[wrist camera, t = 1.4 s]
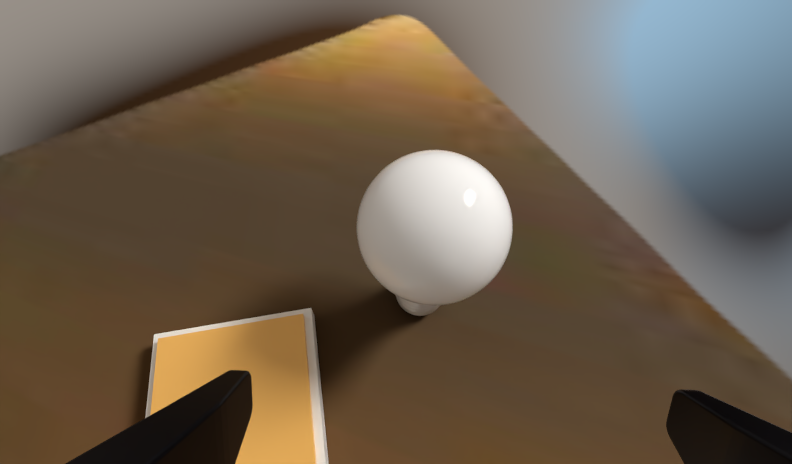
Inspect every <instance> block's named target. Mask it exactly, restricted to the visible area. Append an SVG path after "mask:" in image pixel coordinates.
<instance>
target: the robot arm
mask: <svg viewBox="0 0 792 464" xmlns="http://www.w3.org/2000/svg"><path fill="white" fill-rule="evenodd" d="M252 407H253V401H252V380H251V374H250V372H249V371H244V370H229V371H227V372H225V373H224V374H222V375H220V376H218V377H217V378H215V379H213V380H211V381H210V382H208V383H206V384H204V385H203V386H201V387H199V388H197V389H196V390H194V391H192V392H190V393H189V394H187V395H185V396H183V397H182V398H180V399H178V400H176V401H175V402H173V403H171V404H169V405H168V406H166V407H164V408H162V409H161V410H159V411H157V412H155V413H154V414H152V415H150V416H148V417H147V418H145V419H143V420H141V421H140V422H138V423H136V424H134V425H133V426H131V427H129V428H127V429H126V430H124V431H122V432H120V433H119V434H117V435H115V436H113V437H111V438H110V439H108V440H106V441H104V442H103V443H101V444H99V445H97V446H96V447H94V448H92V449H90V450H89V451H87V452H85V453H83V454H82V455H80V456H78V457H76V458H75V459H73V460H71V461H69V462H68V463H66V464H235V463H236V460H237V457H238V454H239V451H240V448H241V445H242V442H243V439H244V436H245V433H246V430H247V427H248V424H249V421H250V418H251V414H252ZM666 427H667V431H668V434H669V437H670V438H671V440H672V442H673V444H674V446H675V448H676V449H677V451H678V453H679V455H680V457H681V459H682V460H683V462H684V464H792V433H791V432H789V431H787V430H784V429H782V428H780V427H778V426H776V425H773V424H771V423H769V422H767V421H765V420H762V419H760V418H758V417H756V416H754V415H751V414H749V413H747V412H745V411H743V410H740V409H738V408H736V407H734V406H732V405H729V404H727V403H725V402H723V401H721V400H718V399H716V398H714V397H712V396H710V395H707V394H705V393H703V392H701V391H697V390H677V391H676V392H675V393H674V395H673V398H672V402H671V406H670V410H669V414H668V418H667V422H666Z"/></svg>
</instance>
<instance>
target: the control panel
mask: <svg viewBox="0 0 792 464" xmlns="http://www.w3.org/2000/svg"><path fill="white" fill-rule="evenodd" d="M229 370H244V371H249V372H250V374H251V380H252V401H253V407H252V414H251V418H250V421H249V424H248V427H247V430H246V433H245V436H244V439H243V442H242V445H241V448H240V451H239V454H238V457H237V460H236V463H235V464H329V462H328V452H327V442H326V431H325V421H324V411H323V400H322V390H321V379H320V369H319V359H318V348H317V338H316V327H315V317H314V313H313V311H312V309H311V308H307V309H301V310H295V311H290V312H284V313H278V314H272V315H266V316H260V317H254V318H248V319H242V320H236V321H231V322H225V323H219V324H213V325H207V326H201V327H195V328H189V329H183V330H177V331H171V332H166V333H160V334H154V340H153V350H152V359H151V369H150V378H149V388H148V397H147V407H146V416H145V418H147V417H148V416H150V415H152V414H154V413H155V412H157V411H159V410H161V409H162V408H164V407H166V406H168V405H169V404H171V403H173V402H175V401H176V400H178V399H180V398H182V397H183V396H185V395H187V394H189V393H190V392H192V391H194V390H196V389H197V388H199V387H201V386H203V385H204V384H206V383H208V382H210V381H211V380H213V379H215V378H217V377H218V376H220V375H222V374H224V373H225V372H227V371H229Z"/></svg>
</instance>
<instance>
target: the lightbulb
mask: <svg viewBox="0 0 792 464" xmlns="http://www.w3.org/2000/svg"><path fill="white" fill-rule="evenodd" d="M512 232H513V223H512V214H511V209H510V205H509V202H508V200H507V197H506V195H505V193H504V191H503V189H502V187H501V186H500V184H499V183H498V181H497V180H496V179H495V178H494V176H493V175H492V174H491V173H490V172H489V171H488V170H487V169H485V168H484V167H483V166H482V165H480V164H479V163H477V162H476V161H474V160H472V159H470V158H468V157H466V156H464V155H461V154H458V153H455V152H451V151H445V150H425V151H419V152H414V153H411V154H408V155H405V156H403V157H401V158H399V159H397V160H395V161H394V162H392V163H390V164H389V165H388V166H386V167H385V168H384V169H383V170H382V171H381V172H380V173H379V174H378V175H377V176H376V177H375V178H374V179H373V181H372V182H371V183H370V185H369V186H368V188H367V190H366V192H365V194H364V196H363V198H362V201H361V204H360V207H359V211H358V216H357V240H358V245H359V249H360V252H361V255H362V258H363V260H364V262H365V264H366V266H367V267H368V269H369V271H370V272H371V273H372V275H373V276H374V277H375V278H376V280H377V281H378V282H379V283H380V284H381V285H382V286H384V287H385V288H386V289H387V290H389V291H390V292H391V293H393V294H395V295H396V298H397V301H398V303H399V305H400V306H401V307H402V309H404V310H405V311H406V312H408V313H410V314H412V315H416V316H424V315H428V314H431V313H432V312H434V311H435V310H436V309H437V308H438V307H439V306H440V305H446V304H452V303H456V302H459V301H462V300H464V299H467V298H469V297H471V296H473V295H474V294H476V293H478V292H479V291H480V290H482V289H483V288H484V287H486V286H487V285H488V284H489V283H490V282H491V281H492V280H493V279H494V277H495V276H496V275H497V274H498V272H499V271H500V269H501V268H502V266H503V264H504V262H505V260H506V258H507V255H508V252H509V249H510V245H511V240H512Z"/></svg>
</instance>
